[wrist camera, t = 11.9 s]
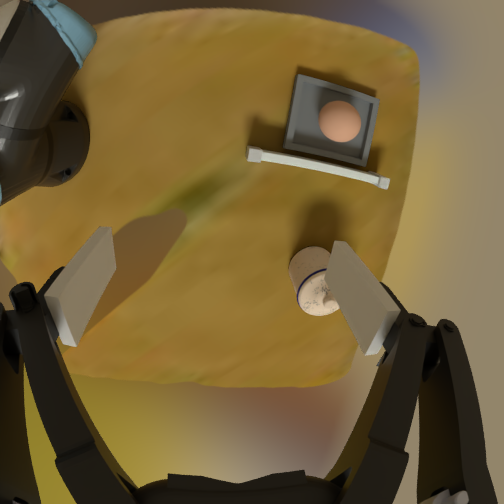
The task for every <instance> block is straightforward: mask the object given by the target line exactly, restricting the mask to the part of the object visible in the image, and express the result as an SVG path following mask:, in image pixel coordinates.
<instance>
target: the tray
mask: <svg viewBox="0 0 504 504" xmlns="http://www.w3.org/2000/svg"><path fill="white" fill-rule="evenodd" d="M332 101H344V102H347V103H349V104H351V105H352V106H353V107H354V108H355V109H356V110H357V111H358V113H359V115H360V118H361V128H360V131H359V133H358V134H357V136H356V137H354V138H353V139H352V140H350V141H346V142H336V141H333V140H331V139H329V138H328V137H326V136H325V135H324V134H323V132H322V131H321V129H320V127H319V122H318V117H319V113H320V111H321V109H322V108H323V107H324V106H325V105H326V104H327V103H329V102H332ZM378 106H379V99H377V98H374V97H371V96H369V95H366V94H363V93H361V92H358V91H355V90H352V89H349V88H346V87H343V86H340V85H337V84H333V83H330V82H327V81H323V80H320V79H316V78H312V77H308V76H304V75H300V74H298V75H296V77H295V83H294V88H293V94H292V99H291V105H290V110H289V116H288V121H287V126H286V132H285V137H284V143H283V148H285V149H291V150H296V151H301V152H306V153H310V154H315V155H320V156H324V157H328V158H333V159H337V160H341V161H345V162H349V163H353V164H356V165H360V166H364V167H366V164H367V159H368V155H369V151H370V146H371V142H372V137H373V132H374V127H375V122H376V117H377V112H378Z"/></svg>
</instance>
